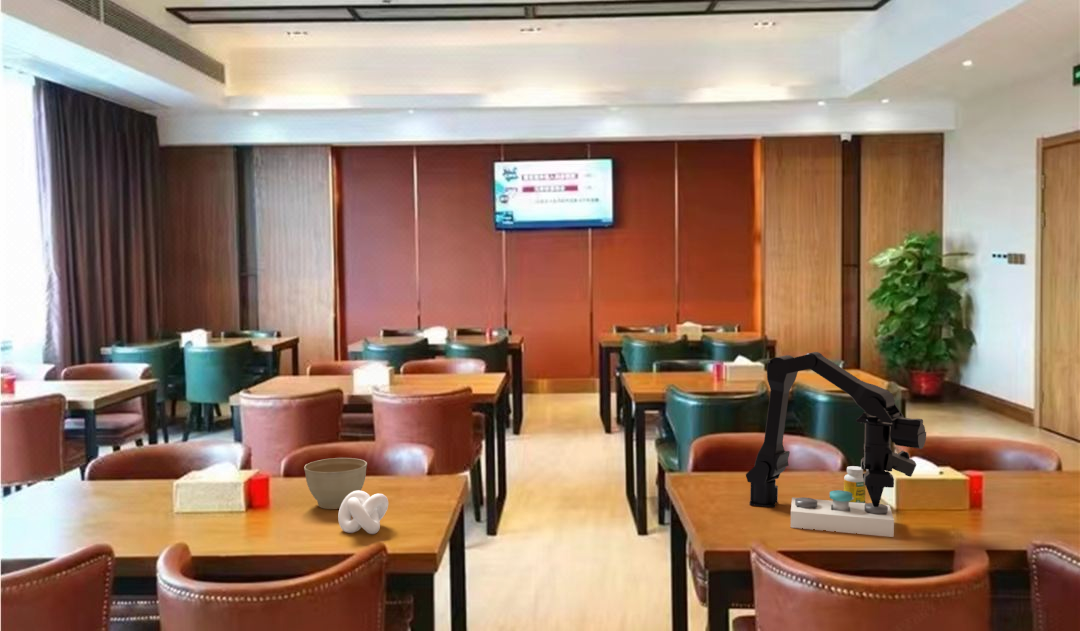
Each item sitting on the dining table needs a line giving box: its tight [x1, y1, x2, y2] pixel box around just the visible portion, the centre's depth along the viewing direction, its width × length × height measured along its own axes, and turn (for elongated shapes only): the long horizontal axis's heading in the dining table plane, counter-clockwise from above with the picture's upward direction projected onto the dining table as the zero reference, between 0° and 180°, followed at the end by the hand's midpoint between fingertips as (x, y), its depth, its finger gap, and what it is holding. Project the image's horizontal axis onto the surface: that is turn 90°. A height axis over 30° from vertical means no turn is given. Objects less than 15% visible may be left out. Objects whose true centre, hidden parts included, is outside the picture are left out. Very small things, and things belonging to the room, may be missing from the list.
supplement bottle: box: [843, 465, 867, 503], centre depth 220 cm, size 5×5×10 cm
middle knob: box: [829, 489, 852, 511], centre depth 203 cm, size 5×5×5 cm
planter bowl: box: [303, 457, 368, 510], centre depth 222 cm, size 16×16×11 cm
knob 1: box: [795, 497, 817, 509], centre depth 206 cm, size 5×5×5 cm
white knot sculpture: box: [337, 490, 389, 535], centre depth 200 cm, size 11×12×9 cm
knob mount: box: [790, 496, 895, 538], centre depth 203 cm, size 23×12×4 cm, turn 72°
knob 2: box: [864, 502, 888, 515], centre depth 201 cm, size 5×5×5 cm
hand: (875, 506), depth 200 cm, fingers closed, pressing on knob 2
